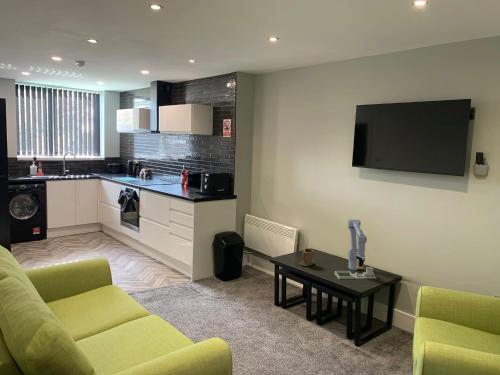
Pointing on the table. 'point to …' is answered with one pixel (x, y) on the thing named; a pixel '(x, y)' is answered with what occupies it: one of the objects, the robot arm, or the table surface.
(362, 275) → the fuse block
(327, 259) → the table surface
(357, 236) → the robot arm
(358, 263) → the block
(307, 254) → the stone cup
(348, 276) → the tray
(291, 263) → the table surface
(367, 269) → the block
